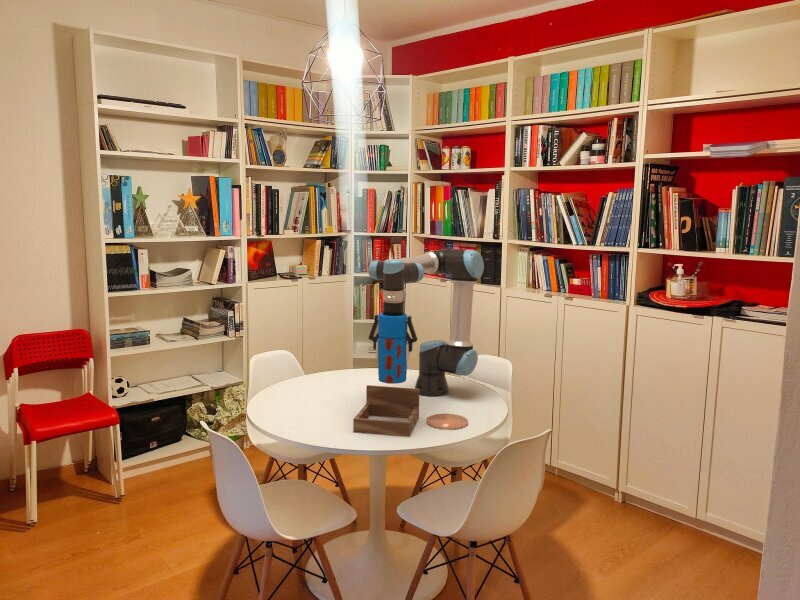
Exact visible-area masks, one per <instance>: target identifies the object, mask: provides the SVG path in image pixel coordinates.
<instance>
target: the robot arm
mask: <svg viewBox="0 0 800 600" xmlns="http://www.w3.org/2000/svg"><path fill="white" fill-rule="evenodd" d="M484 269H485V264H484V258H483V256H482V255H481V254H480V252H479V251H477V250H473V249H464V248H463V249H460V248H459V249H458V248H442V249H436V250H431V251H426V252H424V253H423V254H421V255H415V256H409V257H402V258H394V259H385V260H380V259H379V260H372V261H371V262H370V264H369V265H368V275H369V277H370V278H371V279H373V280H377V281H383V287H382V288H383V289H382V293H383V295H382V298H383V299H382V300H383V303H382V313H383V314H382V315H399V316H403V315H404V314H403V313H404V302H403V301H404V296H405V295H404V285H407V284H414V283H418V282H421V281H422V280H423V278H424V276H425V273H426V274H427V275H432V274H435V275H436V274H437V275H444V276H450V277H449V278H450V282H451V283H452V284H453V288H452V302H451V303H452V304H451V320H450V335H449V339H448V341H447V342H446V341H445V340H443V339H442V340H441V339H439V340H437V339H436V340H428V341H424V342H421V344H420V345H419V351H418V352H419V353H418V357H419V358H418V359H419V361H418V376H417V378H416V379H417V380H416V382H415V385H414V389H420V390H419V396H424V395H426V397H440V396H439V395H442V396H445V395H447V394H448V393H449V384H448V381H447V378H446V373H449V374H453V375H457V376H463V377H466V376H469V375H471V374H473V372H474V371H475V369H476V366H477V363H478V360H479V356H478V352H477V351H476V350H475V349H473V348H474V344H473V343H472V341H471V328H472V327H471V326H472V313H473V312H472V311H473V301H474V299H473V298H474V286H475V285H476V284H477V283H478V279H479V278H481V277H482V276H483V273H484ZM379 314H380V313H376V314H374V322H373V325H372V326H371V328H370V329H371V330H370V332H369V336H368V340H370V341H372V342H373V344H372V345H373V347H372V348H373V350H374V351H375V359H376V360H378V336H379V335H378V332H377V333H375V332H376V331H377V328H378V324H379ZM412 319H413V317H412V315H407V320H406V321H407V328H408V329H409V332H408V331H407V333H406V339H407V344H406V361H407V362H408V361H409V360H410V353H412V351H413V344H414V343H416V342H417V341H418V337H417V333H416V331H415V327H414V324H413V321H412ZM375 334H376V335H375ZM446 393H447V394H446ZM444 394H445V395H444Z"/></svg>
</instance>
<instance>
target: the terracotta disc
mask: <svg viewBox="0 0 800 600" xmlns="http://www.w3.org/2000/svg"><path fill="white" fill-rule="evenodd" d="M467 424H469V419H467V418H466V417H464V416H462V415H460V414H454V413H436V414H432V415H430V416H427V418H426V425H428V426H429V427H431V428H433V429H436V428H438V430H442V429H457V430H460V429H459V428H462V429H464V428H466V427H467V426H468V425H467ZM466 425H467V426H466ZM465 426H466V427H465ZM463 427H464V428H463Z"/></svg>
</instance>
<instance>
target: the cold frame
mask: <svg viewBox="0 0 800 600" xmlns="http://www.w3.org/2000/svg"><path fill="white" fill-rule="evenodd" d="M365 388H366V391H365V392H366V393H365V394H366V395H365V396H366V397H365V398H366V401H365V404H364V406H363V407H362V408H361V409H360V410H359V411H358V413H357V414H356V416H355V417H354V418H353V419H352V420H353V422H352V423H353V426H352V432H353V433H359V434H369V435H370V434H372V435H383V436H395V437H405V438H410V437H411V435H412V433H413V432H414V431H413V430H414V429H415V426H416V425H417V423H418V421H419V419H420V394H419V390H420V389H415V387H414V388H413V387H412V388H411V387H397V386H396V387H395V386H382V385H371V384H370V385H368V384H367V385H366V387H365ZM370 417H382V418H393V419H404V420H405V419H407V420H406V421H397V420H389V419H388V420H384V419H373V418H370Z"/></svg>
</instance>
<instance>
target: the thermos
mask: <svg viewBox="0 0 800 600" xmlns="http://www.w3.org/2000/svg"><path fill="white" fill-rule="evenodd" d="M378 314H379V322H378V325H377V328H378V331H377V333H378V335H379V336H378V340H377V341H378V359H377V362H378V363H377V364H378V365H377V369H378V370H377V371H378V373H377V374H378V381H379V382H381V383H384V384H389V385H390V384H391V385H393V384H394V385H395V384H396V385H397V384H402V383H405V382H406V381H407V372H408V370H407V369H408V361H406V344H407V343H408V341H407V339H406V333H407V332H408V323H407V321H406V320H407V316H408V313H404V312H403V314H404V315H403V316H399V315H382V314H383V312H380V313H378Z"/></svg>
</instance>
